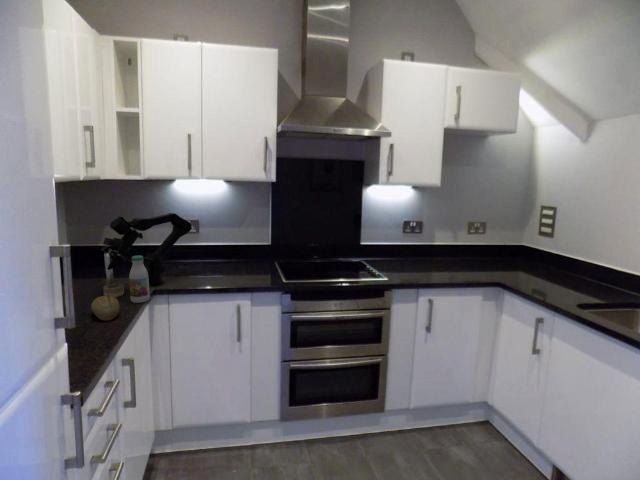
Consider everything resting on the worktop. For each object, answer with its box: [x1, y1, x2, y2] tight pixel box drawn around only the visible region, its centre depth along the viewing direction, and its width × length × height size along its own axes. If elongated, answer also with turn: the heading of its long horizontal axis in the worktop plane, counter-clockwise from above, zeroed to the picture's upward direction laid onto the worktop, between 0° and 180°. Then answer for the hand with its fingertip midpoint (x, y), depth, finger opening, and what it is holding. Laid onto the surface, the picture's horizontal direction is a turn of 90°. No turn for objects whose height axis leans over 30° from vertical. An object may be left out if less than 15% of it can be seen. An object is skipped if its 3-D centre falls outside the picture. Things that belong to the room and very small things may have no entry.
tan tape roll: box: [102, 283, 125, 298], centre depth 185 cm, size 8×8×4 cm
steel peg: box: [103, 252, 115, 285], centre depth 182 cm, size 3×3×14 cm
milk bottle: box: [128, 255, 151, 304], centre depth 177 cm, size 8×8×20 cm
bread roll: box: [90, 295, 120, 322], centre depth 160 cm, size 10×15×8 cm, turn 42°
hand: (106, 268), depth 181 cm, fingers closed on steel peg, 3 cm apart
